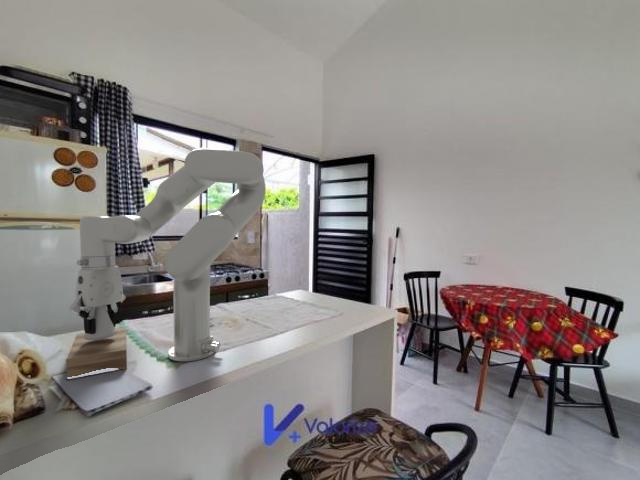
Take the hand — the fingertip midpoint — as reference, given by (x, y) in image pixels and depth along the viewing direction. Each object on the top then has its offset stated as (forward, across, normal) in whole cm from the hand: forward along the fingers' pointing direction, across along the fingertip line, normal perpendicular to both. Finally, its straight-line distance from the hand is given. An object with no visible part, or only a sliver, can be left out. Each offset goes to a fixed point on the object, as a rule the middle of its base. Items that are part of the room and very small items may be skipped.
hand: (100, 329), depth 86 cm
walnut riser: (+8, 0, 0) cm, 8 cm away
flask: (+2, 0, 0) cm, 2 cm away
